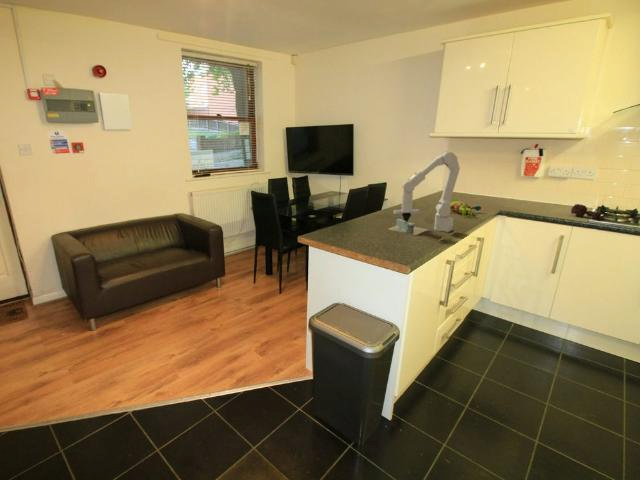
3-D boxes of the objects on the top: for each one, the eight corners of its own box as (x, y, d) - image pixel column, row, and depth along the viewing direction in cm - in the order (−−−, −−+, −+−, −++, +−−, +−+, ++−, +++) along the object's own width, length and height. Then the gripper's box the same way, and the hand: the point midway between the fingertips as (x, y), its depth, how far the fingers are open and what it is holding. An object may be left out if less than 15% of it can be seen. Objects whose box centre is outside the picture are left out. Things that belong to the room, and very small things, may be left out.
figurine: (601, 223, 223) (571, 212, 235) (608, 211, 220) (577, 202, 232) (597, 224, 217) (566, 214, 229) (603, 212, 214) (572, 202, 226)
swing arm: (416, 232, 185) (417, 224, 184) (410, 232, 184) (411, 224, 182) (400, 224, 200) (401, 217, 198) (394, 225, 199) (395, 218, 197)
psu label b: (414, 230, 190) (414, 230, 190) (410, 231, 188) (410, 231, 188) (404, 228, 194) (404, 228, 194) (401, 229, 191) (401, 229, 191)
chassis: (428, 231, 193) (428, 222, 191) (416, 236, 182) (416, 227, 181) (399, 225, 204) (400, 217, 203) (387, 230, 194) (387, 222, 192)
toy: (454, 208, 257) (455, 198, 255) (488, 215, 234) (490, 204, 232) (433, 210, 245) (434, 200, 243) (467, 218, 222) (468, 206, 220)
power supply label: (408, 227, 196) (408, 227, 196) (405, 229, 193) (405, 228, 193) (399, 226, 200) (399, 225, 200) (396, 227, 197) (396, 227, 197)
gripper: (416, 200, 196) (414, 223, 200) (392, 201, 194) (391, 224, 198) (421, 203, 189) (419, 226, 193) (396, 203, 188) (395, 227, 192)
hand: (405, 225), depth 195 cm, fingers closed, pressing on swing arm
